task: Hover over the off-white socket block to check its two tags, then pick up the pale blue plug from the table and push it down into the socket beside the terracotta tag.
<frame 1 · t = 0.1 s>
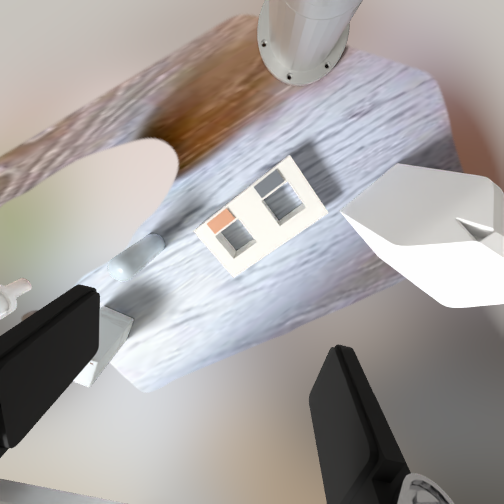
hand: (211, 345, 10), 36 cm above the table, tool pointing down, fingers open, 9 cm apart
supplement box: (115, 323, 56), on the table
strainer: (25, 284, 53), on the table
socket block: (259, 217, 45), on the table
plug: (154, 243, 48), on the table
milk: (386, 212, 44), on the table
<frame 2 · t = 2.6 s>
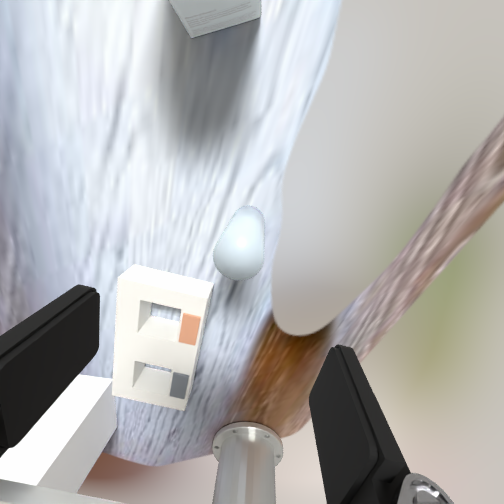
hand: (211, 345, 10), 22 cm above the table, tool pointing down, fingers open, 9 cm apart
socket block: (166, 332, 37), on the table
plug: (248, 221, 30), on the table
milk: (82, 398, 43), on the table
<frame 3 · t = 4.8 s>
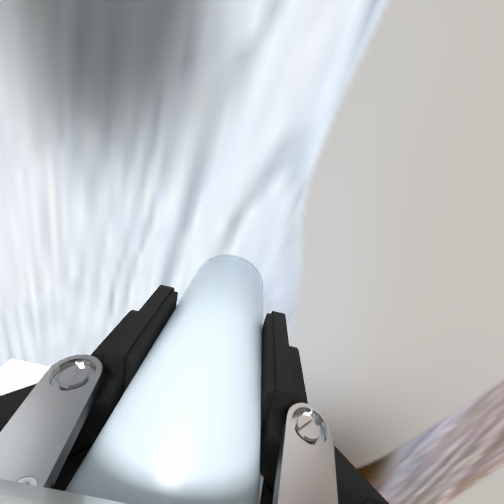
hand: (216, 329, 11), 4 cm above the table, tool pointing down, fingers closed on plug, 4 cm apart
socket block: (90, 460, 21), on the table
plug: (228, 286, 14), on the table, touching gripper
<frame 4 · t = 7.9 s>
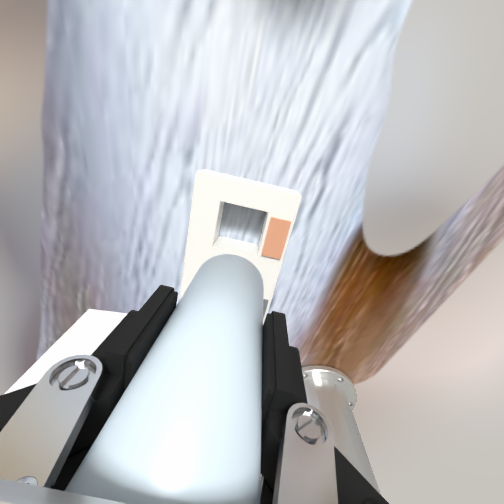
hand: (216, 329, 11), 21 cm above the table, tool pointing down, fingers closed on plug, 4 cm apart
socket block: (234, 257, 32), on the table
plug: (229, 286, 14), point 17 cm above the table, touching gripper
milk: (132, 343, 39), on the table
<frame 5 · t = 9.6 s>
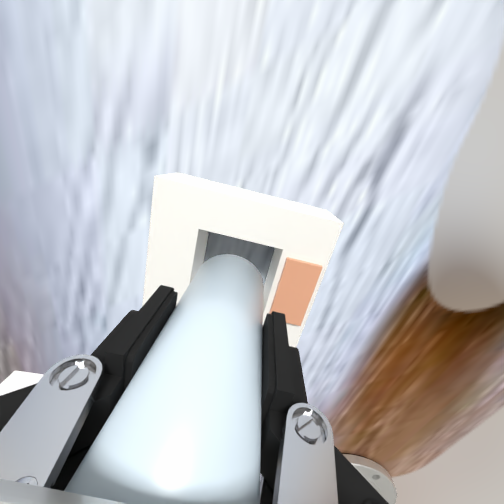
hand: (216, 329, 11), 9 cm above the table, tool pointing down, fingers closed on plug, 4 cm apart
socket block: (226, 306, 21), on the table
plug: (229, 286, 14), point 5 cm above the table, touching gripper
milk: (80, 415, 27), on the table
when the fingers open (5 cm above the table, at t = 10.8 s): plug drops 1 cm, resting in socket block.
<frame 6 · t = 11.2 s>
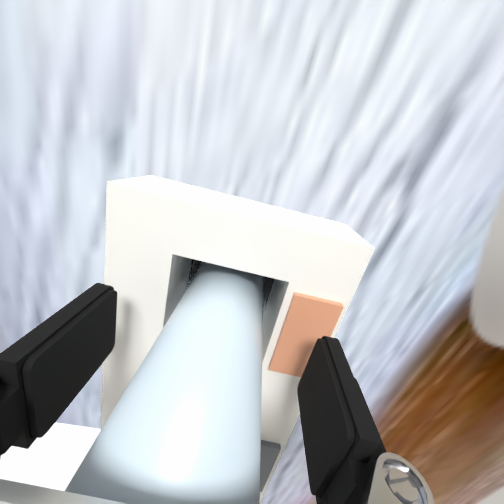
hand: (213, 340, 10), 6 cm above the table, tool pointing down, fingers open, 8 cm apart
socket block: (216, 340, 17), on the table
plug: (231, 278, 15), resting in socket block
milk: (48, 459, 23), on the table
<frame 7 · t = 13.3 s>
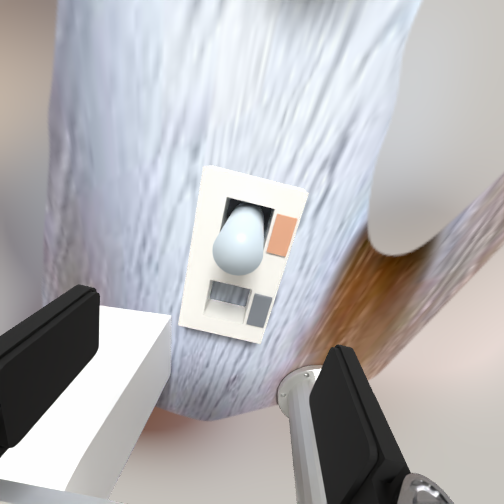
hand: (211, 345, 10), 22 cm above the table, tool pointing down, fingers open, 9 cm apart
socket block: (239, 254, 32), on the table
plug: (247, 217, 30), resting in socket block
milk: (133, 340, 39), on the table
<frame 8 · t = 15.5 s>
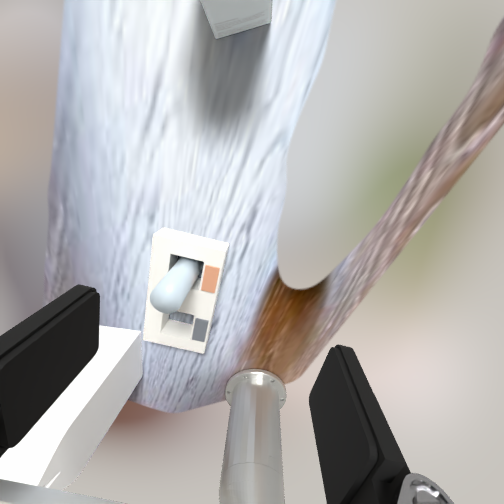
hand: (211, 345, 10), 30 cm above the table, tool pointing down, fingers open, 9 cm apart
socket block: (188, 287, 44), on the table
plug: (192, 262, 42), resting in socket block
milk: (113, 349, 50), on the table
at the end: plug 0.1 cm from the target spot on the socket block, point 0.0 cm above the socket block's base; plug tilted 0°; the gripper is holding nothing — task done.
